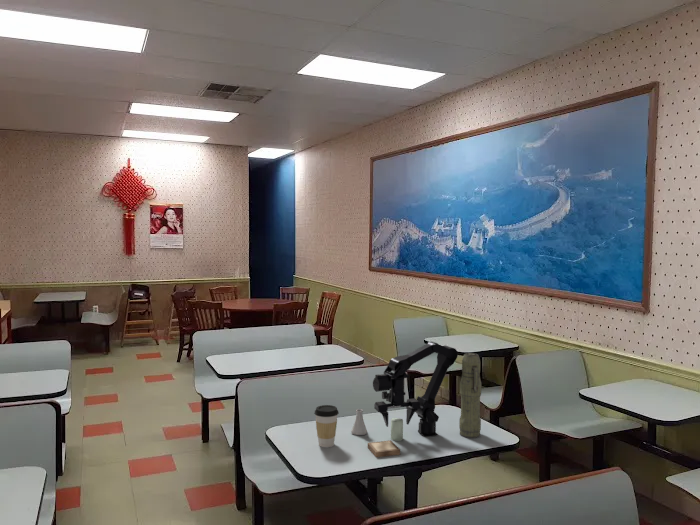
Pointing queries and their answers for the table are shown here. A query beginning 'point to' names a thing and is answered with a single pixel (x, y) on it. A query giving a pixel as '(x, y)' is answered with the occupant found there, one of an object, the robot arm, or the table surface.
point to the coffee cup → (326, 424)
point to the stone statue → (470, 396)
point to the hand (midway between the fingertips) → (397, 425)
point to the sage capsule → (396, 429)
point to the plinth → (383, 448)
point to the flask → (359, 424)
